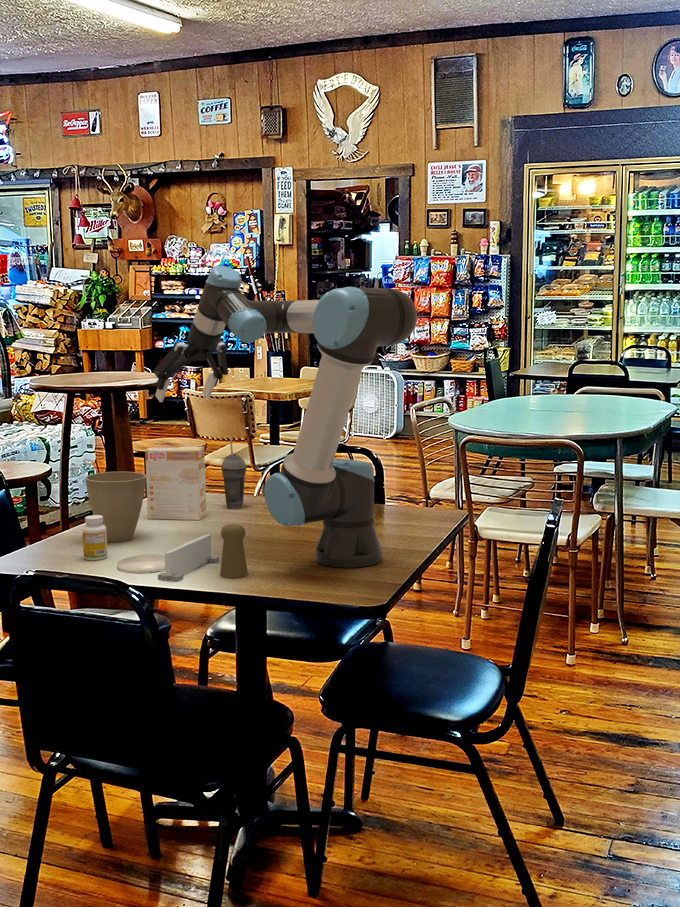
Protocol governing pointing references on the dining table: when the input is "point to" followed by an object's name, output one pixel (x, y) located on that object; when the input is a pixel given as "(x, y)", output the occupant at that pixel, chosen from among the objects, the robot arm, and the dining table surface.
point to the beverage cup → (234, 479)
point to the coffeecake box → (176, 483)
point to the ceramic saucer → (142, 564)
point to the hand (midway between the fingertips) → (182, 397)
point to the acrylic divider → (187, 558)
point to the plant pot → (117, 501)
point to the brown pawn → (233, 552)
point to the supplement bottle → (94, 538)
